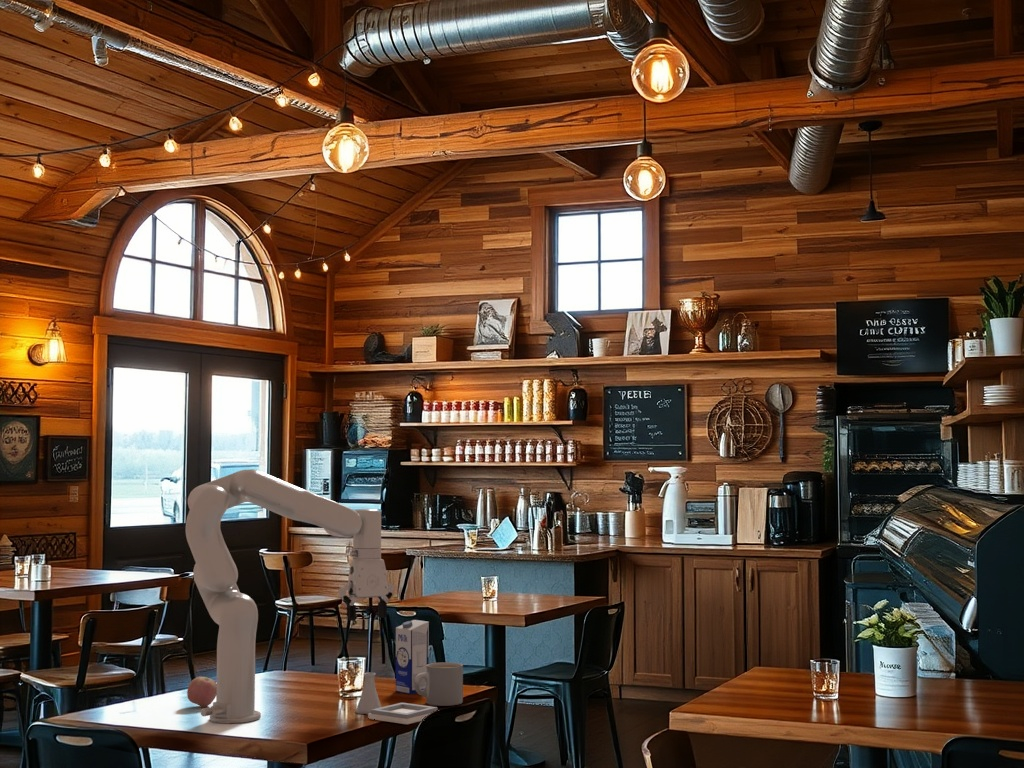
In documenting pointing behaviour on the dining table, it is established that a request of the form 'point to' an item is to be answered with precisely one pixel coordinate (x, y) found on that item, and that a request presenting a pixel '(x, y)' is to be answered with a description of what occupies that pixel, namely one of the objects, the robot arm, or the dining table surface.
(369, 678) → the flask
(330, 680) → the dining table surface
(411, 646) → the milk carton
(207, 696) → the apple
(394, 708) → the socket board
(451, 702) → the coffee mug
